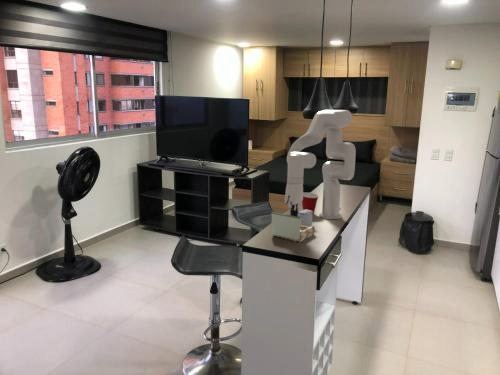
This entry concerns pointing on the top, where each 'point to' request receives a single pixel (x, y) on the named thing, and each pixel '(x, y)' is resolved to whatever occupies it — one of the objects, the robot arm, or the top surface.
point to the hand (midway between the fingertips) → (293, 217)
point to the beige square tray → (302, 233)
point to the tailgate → (286, 225)
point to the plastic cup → (309, 201)
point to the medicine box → (305, 217)
